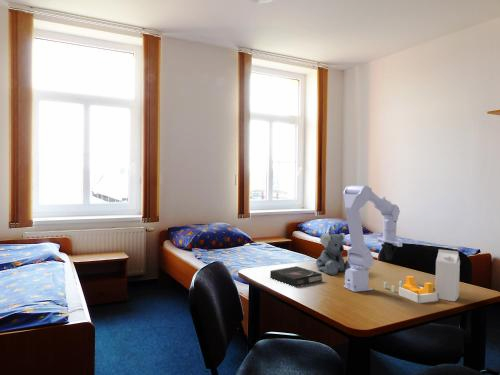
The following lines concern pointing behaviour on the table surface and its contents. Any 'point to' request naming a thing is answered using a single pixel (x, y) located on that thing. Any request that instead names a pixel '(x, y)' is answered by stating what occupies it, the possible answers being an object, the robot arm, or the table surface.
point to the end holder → (419, 298)
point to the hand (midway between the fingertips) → (388, 259)
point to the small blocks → (399, 284)
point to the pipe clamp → (414, 288)
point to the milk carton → (447, 275)
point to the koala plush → (332, 254)
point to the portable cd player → (296, 276)
